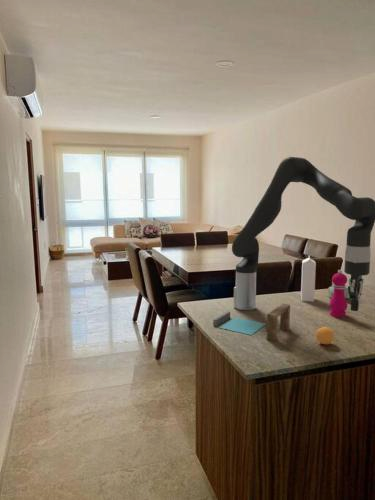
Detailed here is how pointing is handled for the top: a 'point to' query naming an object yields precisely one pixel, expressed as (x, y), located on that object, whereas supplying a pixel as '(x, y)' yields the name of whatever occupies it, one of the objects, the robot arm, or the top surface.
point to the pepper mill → (338, 295)
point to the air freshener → (331, 291)
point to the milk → (308, 280)
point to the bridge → (272, 320)
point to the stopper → (221, 318)
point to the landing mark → (243, 326)
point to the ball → (325, 335)
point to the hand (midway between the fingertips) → (354, 310)
